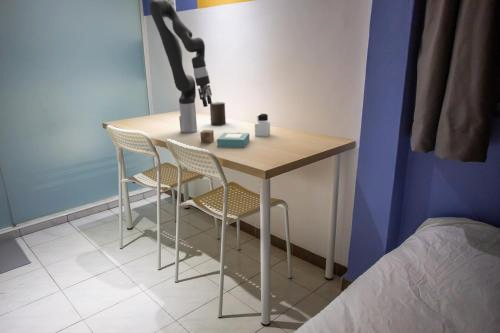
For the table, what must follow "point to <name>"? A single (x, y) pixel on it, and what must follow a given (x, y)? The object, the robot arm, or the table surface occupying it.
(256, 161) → the table surface
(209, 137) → the walnut block
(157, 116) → the table surface
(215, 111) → the pillar candle
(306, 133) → the table surface
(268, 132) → the medicine bottle
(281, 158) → the table surface
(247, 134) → the teal base
